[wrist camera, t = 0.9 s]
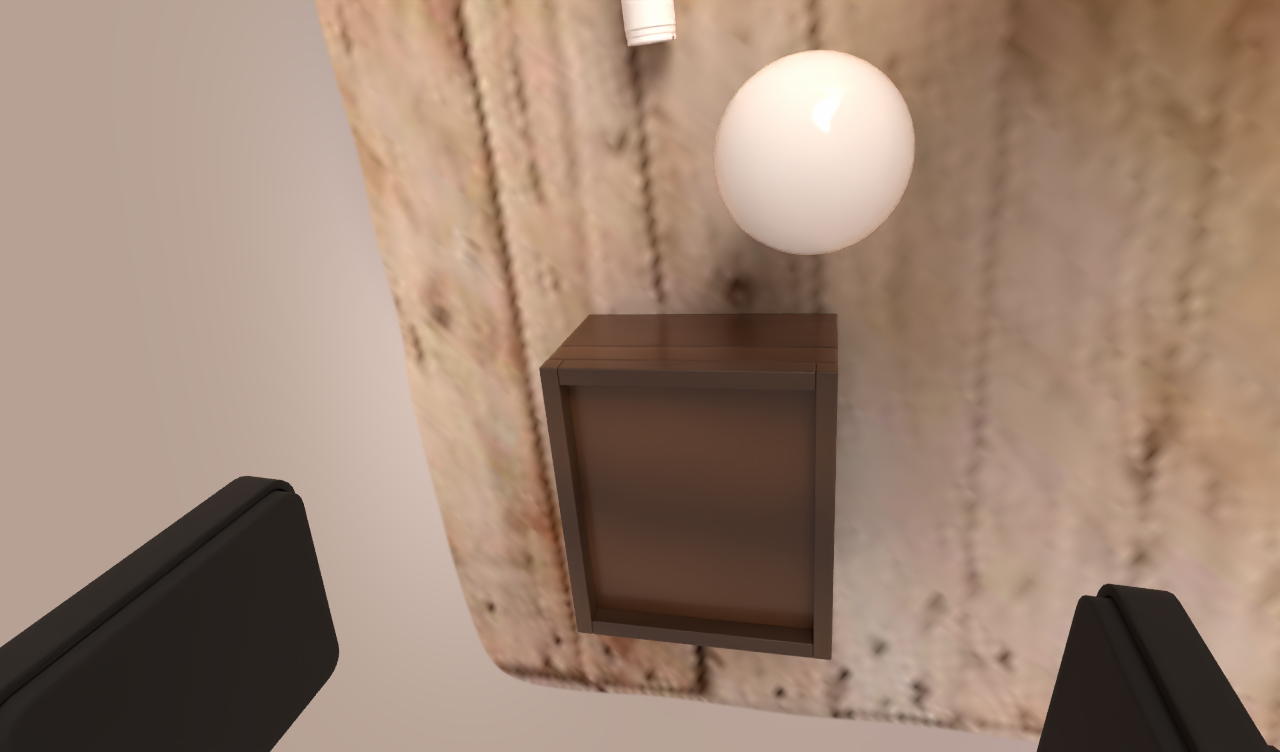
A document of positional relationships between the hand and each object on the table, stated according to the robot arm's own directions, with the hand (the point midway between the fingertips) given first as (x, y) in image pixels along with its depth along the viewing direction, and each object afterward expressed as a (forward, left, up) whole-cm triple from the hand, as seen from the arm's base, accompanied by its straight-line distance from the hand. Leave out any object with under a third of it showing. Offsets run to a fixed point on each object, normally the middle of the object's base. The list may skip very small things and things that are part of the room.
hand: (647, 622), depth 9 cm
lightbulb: (-3, +1, -27) cm, 27 cm away
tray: (+12, -4, -27) cm, 29 cm away
